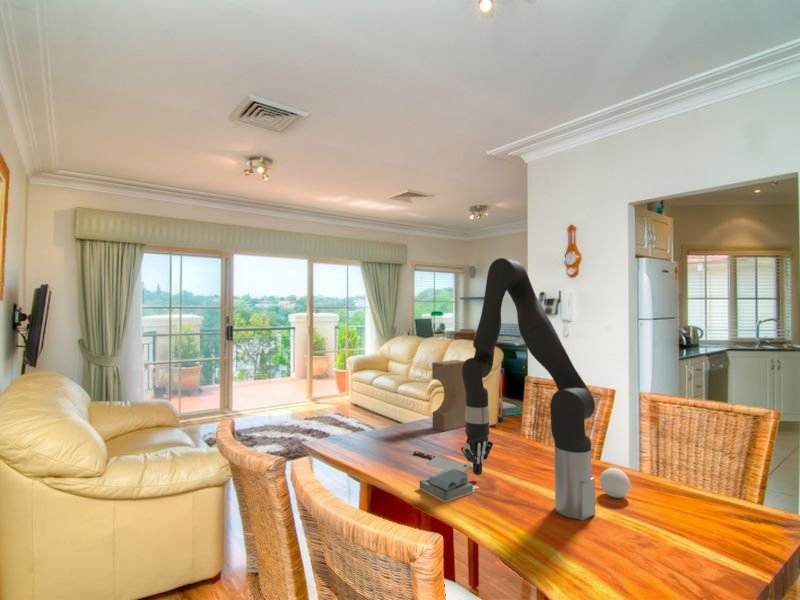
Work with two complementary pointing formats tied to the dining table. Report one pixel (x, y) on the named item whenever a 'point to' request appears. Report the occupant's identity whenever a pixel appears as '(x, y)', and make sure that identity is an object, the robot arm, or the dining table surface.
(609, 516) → the dining table surface
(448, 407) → the decorative block
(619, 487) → the ball
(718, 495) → the dining table surface
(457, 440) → the dining table surface
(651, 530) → the dining table surface
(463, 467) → the kitchen cleaver
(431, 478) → the pale blue lipped slab
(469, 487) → the dock
